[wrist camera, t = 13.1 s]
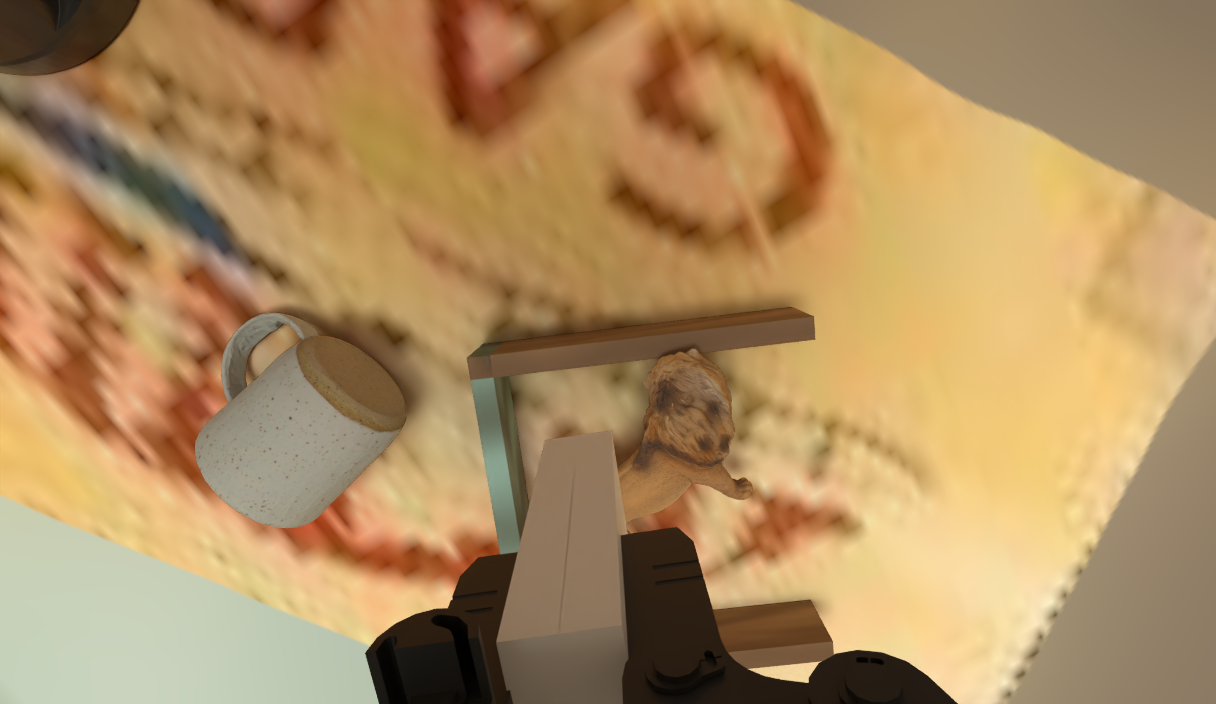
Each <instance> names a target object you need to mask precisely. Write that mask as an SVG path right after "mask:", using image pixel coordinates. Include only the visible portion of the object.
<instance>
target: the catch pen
mask: <svg viewBox="0 0 1216 704" xmlns="http://www.w3.org/2000/svg"><path fill="white" fill-rule="evenodd" d="M807 340H815V327H814V316H811V315H809V314H807V313H804V312H802V311H800V310H797V309H795V308H792V307H788V308H780V309H771V310H763V311H755V312H746V313H738V314H730V315H721V316H713V317H705V318H696V319H688V320H680V321H671V322H663V323H655V324H646V325H638V326H630V327H621V328H613V329H605V330H596V331H588V332H580V333H571V334H563V335H555V336H546V337H538V338H530V339H521V340H513V341H505V342H496V343H488V344H482V345H481V346H480V347H479V348H478V349H477V350H476V351H474V352H473V353H472V354H471V355H470V356H469V357H467V362H468V367H469V373H470V379H471V385H472V391H473V397H474V403H475V408H476V414H477V420H478V426H479V432H480V438H481V444H482V449H483V455H484V461H485V467H486V473H487V479H488V485H489V490H490V496H491V502H492V508H493V514H494V520H495V526H496V531H497V537H498V543H499V549H500V554H506V553H513V552H518V550H519V546H520V541H521V537H522V533H523V529H524V525H525V521H526V517H527V512H528V508H529V502H528V495H527V489H526V483H525V476H524V470H523V464H522V457H521V451H520V445H519V438H518V432H517V426H516V419H515V413H514V407H513V401H512V394H511V388H510V382H509V376H511V375H520V374H528V373H536V372H545V371H553V370H562V369H570V368H579V367H587V366H596V365H604V364H612V363H621V362H629V361H638V360H646V359H655V358H661V357H662V356H667V355H671V354H672V355H675V354H676V353H678V352H683V353H686V352H688V351H689V350H691V349H696V350H697V351H698V352H699V353H705V352H714V351H722V350H731V349H739V348H748V347H756V346H765V345H773V344H781V343H790V342H798V341H807ZM713 613H714V616H715V620H716V623H717V627H718V630H719V634H720V637H721V641H722V643H723V645H724V647H725V649H726V651H727V652H728V653H729V654H730V655H731V656H732V658H733V659H734V660H735V661H736V662H738V663H739V664H741V665H742V666H744V667H745V668H747V669H751V668H760V667H770V666H780V665H790V664H800V663H809V662H819V661H824V660H825V659H827V658H829V657H831V656H833V655H834V653H833V641H832V639H831V637H830V635H829V633H828V632H827V630H826V628H825V626H824V624H823V622H822V620H821V618H820V617H819V615H818V613H817V611H816V609H815V607H814V605H813V604H812V602H811V600H806V601H796V602H787V603H777V604H768V605H758V606H749V607H739V608H730V609H720V610H713Z"/></svg>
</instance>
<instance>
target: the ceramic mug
mask: <svg viewBox="0 0 1216 704" xmlns="http://www.w3.org/2000/svg"><path fill="white" fill-rule="evenodd" d="M282 324H288V325H289V326H290V327H291V328H292V329H293V330H294V331H295V332H296V333H297V335H298V336H299V337H300V338H301V340H302V341H300V342H299V343H297V344H295V345H294V346H292V347H291V348H289V349H288V350H286V351H285V352H284V353H283V354H281V355H280V356H279V357H278V358H277V359H276V360H275V361H274V362H273V363H272V364H271V365H269V367H268V368H267V369H266V370H265V371H264V372H263V373H262V374H261V375H260V376H259V377H258V378H257V379H255V380H254V381H253V382H252V383H251V384H250V385H249V386H247V382H246V365H247V359H248V356H249V353H250V352H251V351H252V348H253V347H254V346H255V345H256V344H257V343H258V342H259V341H261V340H262V339H263V338H264V337H265V336H267V335H268V334H269V333H271V332H272V331H276V330H277V329H278V328H279V327H280V326H281V325H282ZM221 376H222V383H223V390H224V393H225V396H226V399H227V401H228V404H227V405H226V406H225V407H224V408H223V409H221V410H220V411H219V412H218V413H217V414H216V415H215V416H214V417H212V418H211V419H210V420H209V421H208V422H207V423H206V424H205V426H204V427H203V428H202V429H201V430H200V432H199V434H198V437H197V439H196V441H195V454H196V461H197V463H198V466H199V468H200V471H201V473H202V475H203V477H204V479H205V480H206V482H207V483H208V485H209V486H210V487H211V488H212V490H213V491H214V492H215V493H216V494H217V495H218V496H219V497H220V498H221V499H222V500H223V501H224V502H225V503H226V504H228V505H229V506H230V507H232V508H233V509H235V510H236V511H237V512H239V513H241V514H243V515H244V516H246V517H248V518H250V519H252V520H254V521H256V522H259V523H262V524H265V525H269V526H274V527H280V528H295V527H300V526H304V525H306V524H308V523H311V522H312V521H314V520H315V519H316V518H317V517H318V516H320V515H321V514H322V513H323V512H324V511H325V510H326V509H327V508H328V506H329V505H330V504H331V503H332V502H333V501H334V500H335V499H336V498H337V497H338V496H339V495H340V494H341V493H342V492H343V491H344V490H345V489H346V488H347V487H348V486H349V485H350V484H352V483H353V482H354V480H355V479H356V478H357V477H358V476H359V475H360V474H361V473H362V472H363V471H364V470H365V469H366V468H367V467H368V466H369V465H370V464H371V463H372V462H373V461H374V460H375V459H376V458H377V457H378V456H379V455H380V454H381V453H382V452H383V451H384V450H385V449H386V448H387V447H388V446H389V445H390V444H391V443H392V441H393V440H394V439H395V437H396V436H397V434H398V433H399V432H400V430H401V429H402V427H403V425H404V423H405V421H406V405H405V401H404V398H403V395H402V393H401V391H400V389H399V387H398V386H397V384H396V383H395V381H394V380H393V379H392V378H391V377H390V375H389V374H388V373H387V372H386V371H385V370H384V369H383V368H382V367H381V366H380V365H379V364H378V363H377V362H376V361H375V360H373V359H372V358H371V357H370V356H368V355H367V354H366V353H365V352H363V351H362V350H360V349H358V348H357V347H355V346H353V345H352V344H350V343H347V342H345V341H343V340H341V339H337V338H334V337H330V336H319V335H318V333H317V331H316V330H315V329H314V328H313V327H311V326H310V325H309V324H308V323H306V322H305V321H304V320H302V319H299V318H297V317H294V316H291V315H287V314H283V313H265V314H260V315H258V316H255V317H254V318H252V319H250V320H248V321H247V322H246V323H244V324H243V325H242V326H241V327H240V328H239V329H238V330H237V331H236V332H235V333H234V334H233V336H232V337H231V339H230V340H229V342H228V344H227V346H226V348H225V351H224V354H223V359H222V371H221Z"/></svg>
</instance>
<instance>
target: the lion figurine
mask: <svg viewBox="0 0 1216 704" xmlns="http://www.w3.org/2000/svg"><path fill="white" fill-rule="evenodd" d="M643 385H644V387H645V388H646V389H647V390H648V391H649V405H650V406H649V407H648V409H647V411H646V415H645V416H644V419H643V423H644V429H645V432H644V436H643V439H642V442H641V444H640V447H639V448H638V449H637V450H636V451H635V452H634V453H633V454H632V455H631V456H630V457H629V458H627V459H626V460H625V461H624V462H623V463H622V464H621V465H620V466H619V467H618V468H617V469H618V475H619V482H620V488H621V495H622V501H623V508H624V514H625V520H626V524H627V523H628V522H629V521H631V520H633V519H636V518H641V517H644V516H648V515H651V514H653V513H657V512H659V511H661V510H663V509H664V508H666V507H668V506H669V505H671V504H672V503H673V502H675V501H676V500H677V499H678V498H679V497H680V496H681V495H682V494H683V493H684V492H685V491H686V489H687V488H688V487H689V486H690V485H691V483H695V484H702V485H707V486H710V487H712V488H714V489H716V490H718V491H720V492H722V493H723V494H724V495H726V496H728V497H731V498H734V499H738V500H745V499H747V498H749V497H750V496H751V493H752V490H753V488H752V484H751V482H750V481H748V480H747V479H746V478H744V477H743V478H741V479H739V480H735V479H732V478H731V476H730V474H729V473H728V472H727V470H726V469H725V468H724V467H723V466H722V461H723V460H724V458H725V457H726V456H727V454H729V445H730V443H731V440H732V438H733V437H734V432H735V428H734V423H733V420H732V416H731V415H732V412H731V408H732V407H731V402H732V399H731V395H730V391H729V389H728V387H727V384H726V380H725V376H724V375H723V373H722V372H721V370H720V368H718V367H717V366H715V364H713V363H711V362H709V361H708V360H706V359H705V358H704V357H702V355H701V354H700V353H699V352H698V351H697V350H696V349H691V350H689V351H688V352H686V353H683V352H678V353H676V354H675V355H672V354H671V355H667V356H662V357H661V358H660V359H659V360H658V362H657V364H656V365H655V366H654V367H653V369H652V371H651V372H649V373H648V374H647V378H646V379H645V381H644V383H643ZM627 533H628V534H631V533H630V532H629V531H628V530H627Z"/></svg>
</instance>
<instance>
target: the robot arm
mask: <svg viewBox="0 0 1216 704" xmlns="http://www.w3.org/2000/svg"><path fill="white" fill-rule="evenodd" d="M136 2H137V0H0V72H1V73H7V74H14V75H40V74H48V73H54V72H58V71H61V70H65V69H68V68H70V67H73V66H75V65H77V64H80V63H82V62H84V61H85V60H87V59H89V58H90V57H92V56H93V55H95V54H96V53H98V52H99V51H100V50H102V49H103V48H104V47H105V46H106V45H107V44H108V43H109V42H110V41H111V40H112V39H113V38H114V37H115V36H116V35H117V34H118V32H119V31H120V30H121V29H122V27H123V26H124V24H125V23H126V21H127V20H128V18H129V16H130V15H131V13H132V11H133V9H134V7H135V5H136ZM452 597H453V600H451V601H450V604H449V607H448V608H444V609H433V610H429V611H425V612H422V613H418V614H415V615H413V616H410V617H408V618H406V619H404V620H402V621H400V622H398V623H396V624H394V625H393V626H392V627H390V628H389V629H388V630H386V631H385V632H384V633H382V634H381V635H380V636H379V637H377V638H376V640H375V641H374V642H373V644H372V645H371V646H370V647H369V649H368V650H367V651H366V653H365V654H366V658H367V661H368V665H369V668H370V672H371V676H372V680H373V683H374V686H375V690H376V694H377V698H378V701H379V704H958V703H956V702H955V701H954V700H953V699H952V698H951V697H950V696H949V695H948V694H947V693H946V692H945V691H943V690H942V689H941V688H940V687H939V686H938V685H937V684H936V683H935V682H934V681H933V680H932V679H930V678H929V677H928V676H927V675H926V674H924V673H923V672H921V671H920V670H918V669H917V668H915V667H914V666H913V665H911V664H910V663H908V662H907V661H904V660H901V659H899V658H896V657H893V656H890V655H888V654H885V653H881V652H872V651H862V650H855V651H849V652H843V653H837V654H834V655H833V656H831V657H829V658H827V659H825V660H824V661H822V662H820V663H819V664H818V665H817V667H816V668H815V670H814V671H813V673H812V674H811V675H810V677H809V683H803V682H795V681H787V680H780V679H775V678H771V677H766V676H763V675H760V674H758V673H755V672H753V671H751V670H748V669H747V668H745V667H744V666H742V665H741V664H739V663H738V662H736V661H735V660H734V659H733V658H732V656H731V655H730V654H729V653H728V652H727V651H726V649H725V647H724V645H723V643H722V641H721V637H720V634H719V630H718V627H717V623H716V620H715V616H714V613H713V609H712V606H711V602H710V599H709V595H708V591H707V588H706V584H705V581H704V579H703V574H702V570H701V567H700V563H699V560H698V556H697V553H696V549H695V546H694V542H693V541H692V540H691V539H690V538H689V537H688V536H687V535H685V534H684V533H683V532H682V531H681V530H680V529H678V528H677V527H675V528H668V529H661V530H654V531H647V532H640V533H633V534H628V533H627V527H626V520H625V514H624V508H623V501H622V495H621V488H620V482H619V475H618V469H617V463H616V456H615V450H614V443H613V437H612V430H611V431H604V432H597V433H591V434H584V435H577V436H570V437H563V438H556V439H549V440H545V442H544V446H543V450H542V454H541V459H540V463H539V467H538V471H537V475H536V479H535V483H534V488H533V492H532V496H531V500H530V504H529V508H528V512H527V517H526V521H525V525H524V529H523V533H522V537H521V541H520V546H519V550H518V552H513V553H506V554H499V555H492V556H485V557H478V558H477V559H476V560H475V561H474V563H473V564H472V565H471V566H470V567H469V568H468V569H467V570H466V571H465V572H464V573H463V574H462V575H461V576H460V578H459V581H458V583H457V586H456V588H455V591H454V594H453V596H452Z"/></svg>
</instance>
